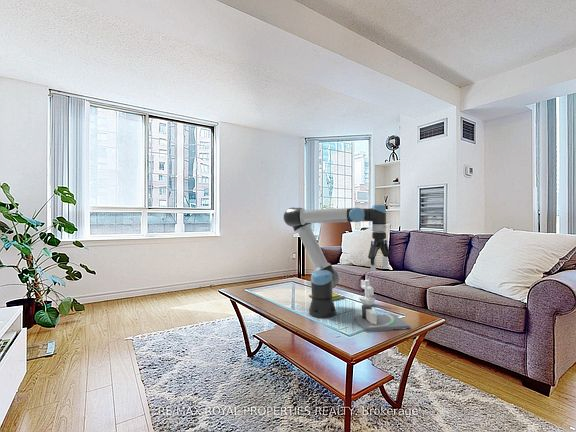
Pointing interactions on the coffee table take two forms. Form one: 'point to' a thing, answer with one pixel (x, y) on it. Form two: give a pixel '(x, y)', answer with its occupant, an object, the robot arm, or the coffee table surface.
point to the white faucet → (367, 293)
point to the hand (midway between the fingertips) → (379, 269)
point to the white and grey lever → (369, 314)
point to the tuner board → (381, 323)
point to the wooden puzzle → (334, 296)
